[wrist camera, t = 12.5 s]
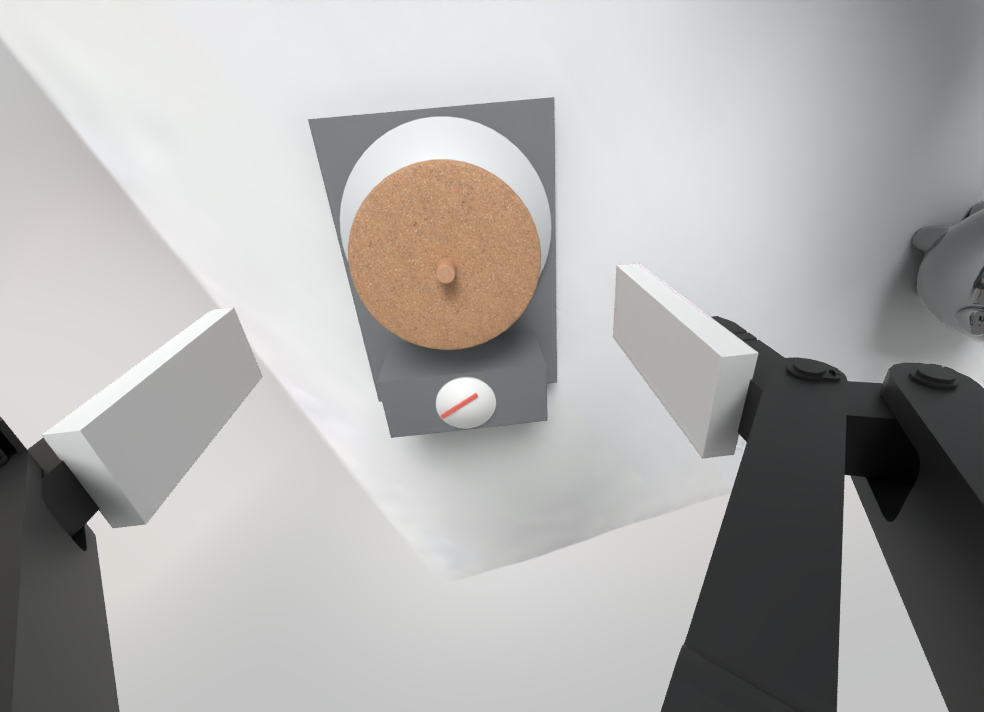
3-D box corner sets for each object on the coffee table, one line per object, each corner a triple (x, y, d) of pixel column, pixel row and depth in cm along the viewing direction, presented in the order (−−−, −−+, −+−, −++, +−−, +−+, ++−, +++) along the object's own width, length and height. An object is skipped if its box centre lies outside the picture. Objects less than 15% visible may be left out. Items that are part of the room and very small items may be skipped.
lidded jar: (487, 123, 27) (500, 120, 19) (543, 271, 32) (573, 320, 24) (342, 194, 29) (295, 220, 20) (417, 326, 33) (404, 390, 25)
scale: (546, 99, 30) (579, 88, 22) (551, 368, 40) (574, 426, 32) (319, 120, 29) (268, 116, 21) (383, 386, 40) (365, 450, 32)
